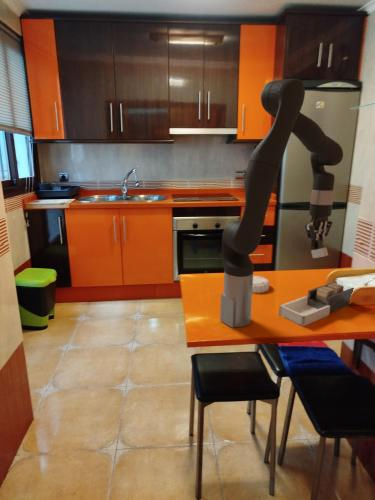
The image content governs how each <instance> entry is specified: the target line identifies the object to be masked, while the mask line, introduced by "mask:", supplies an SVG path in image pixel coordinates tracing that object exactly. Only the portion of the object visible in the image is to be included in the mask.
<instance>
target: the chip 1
mask: <svg viewBox="0 0 375 500" xmlns="http://www.w3.org/2000/svg"><path fill="white" fill-rule="evenodd" d="M333 294H334V290H333V289H330V288H327V287H325V286H324V287H321V288H318V289H317V295H316V299H317V300H320V301H322V302H325V303H326V299H327V297H329V296H332V295H333Z"/></svg>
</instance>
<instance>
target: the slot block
mask: <svg viewBox="0 0 375 500" xmlns="http://www.w3.org/2000/svg"><path fill="white" fill-rule="evenodd" d="M332 283H336V284H338V282H337V281H332V282H329V283H326V284H324V285H321V286H317V287H315V288H312V289H309V290H307V291H308V294H307V297H308V298H307V305H309V306H311V307H314V308H316V309H320V308H322V307H325V306H327V305H329V306H330V312H329V314H331V313H333V312H336V311H339V310H340V309H342V308H346V307H347V306H350V305H349V303H350V297H351V294H352V292H353V289H354V288H355V287H350V288H348V289H346V290H343V292H340V293H337V294H335V295H332V296H329V297H327V299H326V303H325V302H322V301H320V300H317V299H316V295H317V289H318V288H321V287H324V286H325V287H327V285H329V284H332Z"/></svg>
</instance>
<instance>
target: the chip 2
mask: <svg viewBox="0 0 375 500" xmlns="http://www.w3.org/2000/svg"><path fill="white" fill-rule="evenodd" d="M331 283H332V282H331ZM328 284H329V283H328ZM327 288H330V289H333V290H334V294H333V295H335V294H337V293H340V292H343V291H344V289H345V287H344V285H341V284H339V283H337V284H336V283H332V284H329V285H327Z"/></svg>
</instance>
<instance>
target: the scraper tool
mask: <svg viewBox="0 0 375 500" xmlns="http://www.w3.org/2000/svg"><path fill="white" fill-rule="evenodd" d="M310 235H311V234H310ZM315 236H316V234H315ZM310 253H311V256H312V259H317V258H322V257H326V256H329V253H328V249H327V247H324V245H323V244H322V241H321V236H320V234H319V237H318V244H317V249H316V250H314V249H311V251H310Z"/></svg>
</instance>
